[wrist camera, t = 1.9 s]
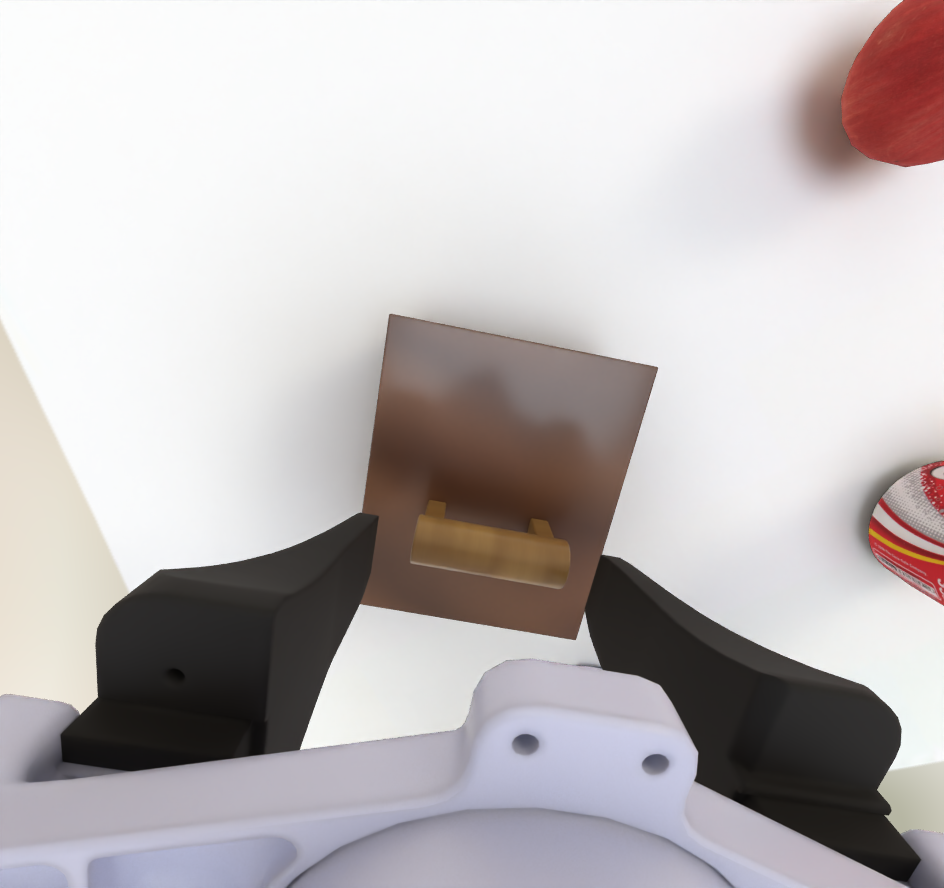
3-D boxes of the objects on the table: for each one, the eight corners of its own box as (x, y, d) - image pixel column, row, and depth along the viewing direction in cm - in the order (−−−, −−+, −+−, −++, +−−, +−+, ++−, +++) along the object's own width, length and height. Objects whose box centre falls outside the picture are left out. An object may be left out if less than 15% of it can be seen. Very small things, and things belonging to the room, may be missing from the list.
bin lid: (392, 314, 15) (364, 309, 12) (651, 365, 16) (709, 378, 12) (353, 592, 18) (321, 665, 15) (572, 629, 19) (598, 709, 15)
